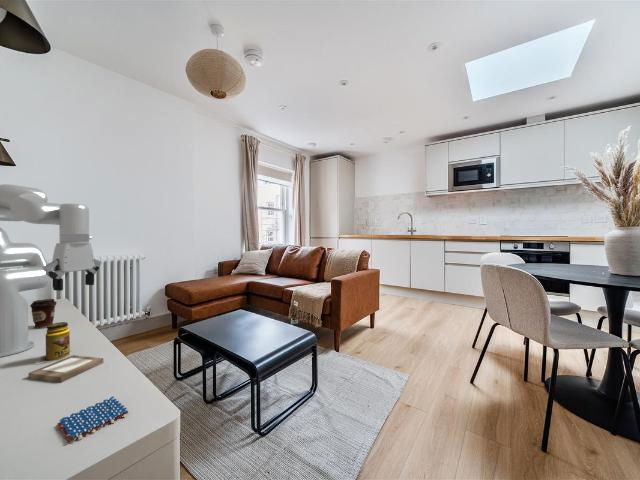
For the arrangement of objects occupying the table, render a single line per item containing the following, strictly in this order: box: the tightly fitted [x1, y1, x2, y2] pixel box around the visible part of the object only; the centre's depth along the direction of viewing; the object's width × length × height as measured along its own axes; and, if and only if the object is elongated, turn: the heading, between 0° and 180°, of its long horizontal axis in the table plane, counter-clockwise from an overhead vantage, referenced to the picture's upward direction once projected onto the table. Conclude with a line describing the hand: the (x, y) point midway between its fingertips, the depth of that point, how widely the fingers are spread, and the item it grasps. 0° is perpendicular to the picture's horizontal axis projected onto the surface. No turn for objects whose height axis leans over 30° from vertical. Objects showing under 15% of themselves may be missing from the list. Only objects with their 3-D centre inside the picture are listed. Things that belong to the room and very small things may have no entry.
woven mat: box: [57, 396, 129, 445], centre depth 59 cm, size 10×11×2 cm
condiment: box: [33, 321, 74, 365], centre depth 91 cm, size 7×8×12 cm
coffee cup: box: [29, 298, 57, 329], centre depth 123 cm, size 9×8×13 cm
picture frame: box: [27, 354, 104, 383], centre depth 82 cm, size 13×12×2 cm
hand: (74, 287), depth 89 cm, fingers open, 9 cm apart
